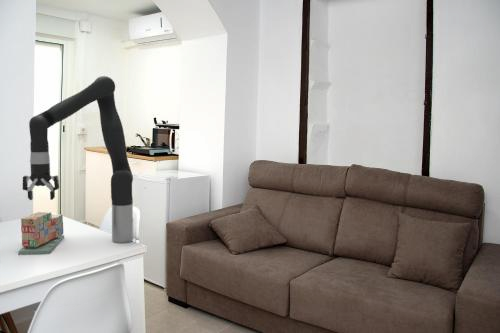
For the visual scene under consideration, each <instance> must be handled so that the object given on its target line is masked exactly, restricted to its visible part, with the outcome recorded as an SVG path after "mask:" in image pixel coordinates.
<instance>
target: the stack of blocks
mask: <svg viewBox="0 0 500 333" xmlns="http://www.w3.org/2000/svg"><path fill="white" fill-rule="evenodd" d="M63 217H64V216H63V214H52V212H51V211H49V212H48V211H47V212H45V211H37V212H35V213H32V214H29V215H27V216H24V217H21V218H20V223H21V224H20V225H21V226H20V227H21V243H22V244H21V245H22V246H21V248H23V247H37V246H39V245H42V244H44V243H46V242H48V241H50V240H52V239H54V238H56V237H58V236H60V235H64V220H63Z"/></svg>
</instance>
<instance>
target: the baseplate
mask: <svg viewBox="0 0 500 333" xmlns="http://www.w3.org/2000/svg"><path fill="white" fill-rule="evenodd" d="M64 239H65V234H62V235H60V236H58V237H56V238H54V239H52V240H50V241H48V242H46V243H44V244H42V245H39V246H37V247H21V248H20V249H19V250H18V251H17V254H18V256H19V255H21V256H22V255H24V256H27V255H50V254H51V253H52V252H53V251H54V250H55V249H56V248H57V246H59V245H60V243H62V241H63V240H64Z"/></svg>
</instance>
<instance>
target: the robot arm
mask: <svg viewBox="0 0 500 333" xmlns="http://www.w3.org/2000/svg"><path fill="white" fill-rule="evenodd" d="M115 90H116V83H115V81H114V80H113V79H112V78H111V77H109V76H106V75H103V76H102V75H101V76H98V77H97V78H96V79H94V81H93V82H92V83H90V84H89V85H88V86H87V87H86V88H84V89H82V90H81V91H79V92H77V93H75V94H73V95H71V96H69V97H67V98H65V99H63V100H61V101H59V102H58V103H56V104H54V105H53V106H51V107H49V108H48V109H47V110H45V111H43V112H41V113H39V114H37V115H34V116H32V117H31V118H30V120H29V123H28V125H29V126H28V128H29V135H30V157H29V158H30V159H29V163H30V175H24V176H23V175H22V176H23V177H22V190H23V191H26V192H27V199H28V200H29V201H32V200H33V199H34V198H33V197H34V196H33V193H34V192H33V189H34V188H35V186H36V187H40V186H41V187H45V186H46V188H47V189H49V195H50V201H52V200H54V199H55V197H56V195H55V194H56V193H55V192H56V190H59V189H60V183H59V182H60V181H59V175H51V162H50V161H51V158H50V151H49V150H50V149H49V148H50V147H49V140H48V131H49V128H51V127H52V126H54V125H55V124H57V123H59V122H62V121H63V120H65V119H68V118H69V117H71V116H72V115H74V114H76V113H77V112H78V111H80V110H81V109H83V108H84V107H86V106H88V105H90V104H91V103H93V102H97V105H98V110H99V119H100V126H101V133H102V137H103V141H104V145H105V148H106V150H107V153H108V155H109V158H110V161H111V162H110V163H111V168H112V176H111V178H110V200H111V240H112V242H113V243H116V244H117V243H121V244H123V243H131V242H133V240H134V218H133V216H134V215H133V214H134V213H133V211H134V210H133V205H134V204H133V180H134V175H133V173H132V170H131V166H130V164H129V160H128V155H127V146H126V139H125V138H126V137H125V133H124V128H123V124H122V121H121V118H120V116H119V112H118V110H117V106H116V102H115V100H116V99H115ZM51 180H52V182H54V183H53V184H54V185H53V184H52V183H51V182H50V181H51ZM29 181H31V183H30V185H29V184H28V183H29ZM28 185H29V187H28Z"/></svg>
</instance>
